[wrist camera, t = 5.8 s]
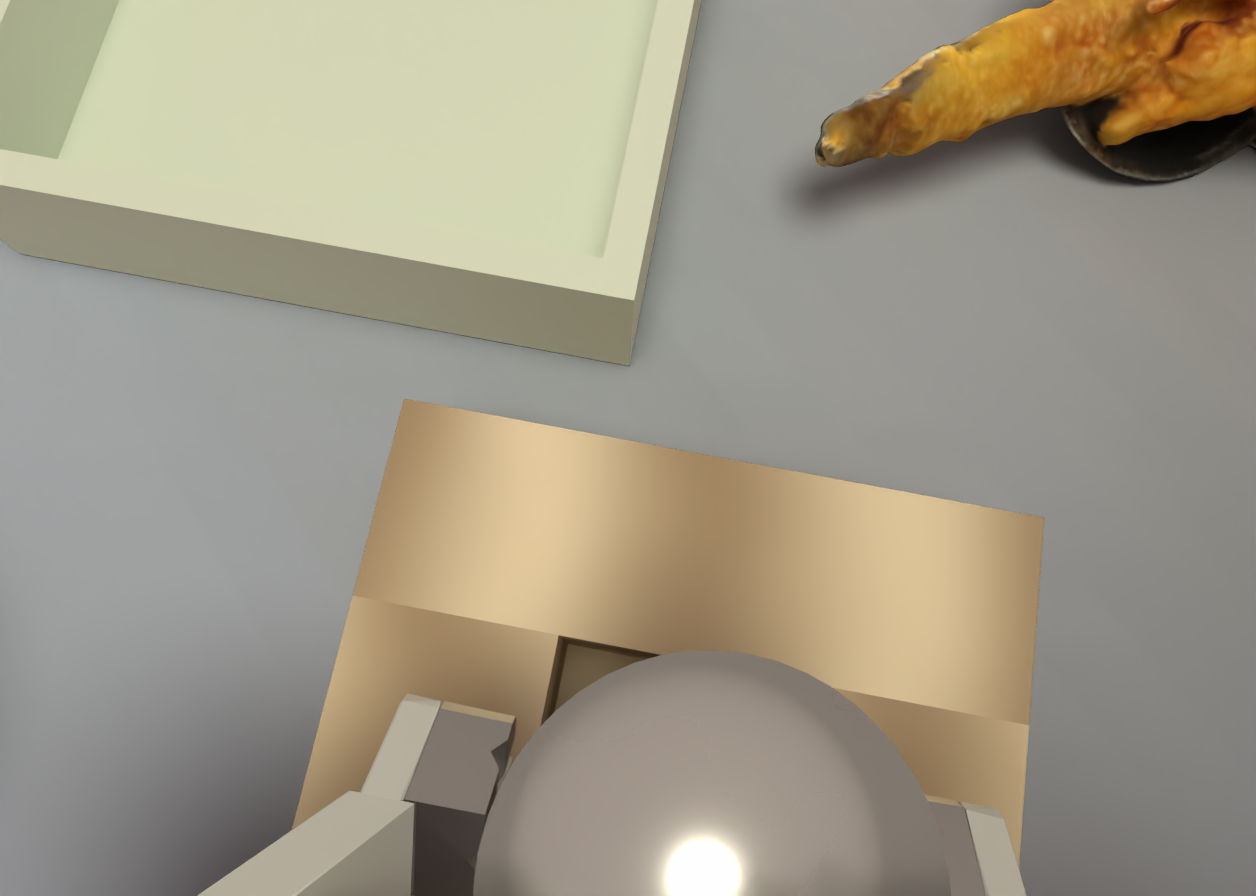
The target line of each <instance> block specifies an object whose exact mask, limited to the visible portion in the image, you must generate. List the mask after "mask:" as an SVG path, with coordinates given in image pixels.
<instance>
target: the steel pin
mask: <svg viewBox="0 0 1256 896" xmlns="http://www.w3.org/2000/svg"><path fill="white" fill-rule="evenodd" d="M473 896H951V888H950V877H949V871H948V866H947V861H946V857H945V852H944V847H943V843H942V839H941V836H940V833H939V830H938V827H937V824H936V821H935V818H934V816H933V813H932V810H931V808H930V805H929V803H928V801H927V799H926V797H925V795H924V793H923V791H922V789H921V787H920V784H919V782H918V780H917V779H916V777H915V775H914V774H913V772H912V771H911V769H910V768H909V766H908V764H907V763H906V761H905V760H904V758H903V756H902V755H901V753H900V752H899V751H898V749H897V748H896V747H895V746H894V745H893V743H892V742H891V741H890V740H889V738H888V737H887V736H886V735H885V733H884V732H883V731H882V730H881V729H880V727H879V726H877V725H876V724H875V723H874V722H873V721H872V720H871V719H870V718H869V717H868V716H867V715H866V714H865V713H864V712H863V711H862V710H861V709H860V708H859V707H858V706H856V705H855V704H854V703H852V702H851V701H850V700H848V699H847V698H846V697H844V696H843V695H842V694H840V693H839V692H838V691H836V690H835V689H834V688H832V687H831V686H829V685H827V684H825V683H823V682H822V681H820V680H818V679H816V678H815V677H813V676H811V675H809V674H808V673H806V672H803V671H801V670H798V669H796V668H793V667H791V666H788V665H786V664H784V663H781V662H779V661H775V660H771V659H767V658H763V657H760V656H756V655H752V654H747V653H738V652H730V651H722V650H700V651H685V652H678V653H671V654H664V655H660V656H656V657H653V658H649V659H646V660H642V661H639V662H635V663H632V664H630V665H628V666H626V667H623V668H621V669H619V670H617V671H614V672H612V673H610V674H607V675H605V676H604V677H602V678H600V679H599V680H597V681H596V682H594V683H592V684H591V685H589V686H587V687H586V688H584V689H582V690H581V691H579V692H578V693H577V694H576V695H574V696H573V697H572V698H571V699H569V700H568V701H567V702H566V703H565V704H563V705H562V706H561V707H560V708H558V709H557V710H556V711H555V712H554V713H553V714H552V715H551V716H550V717H549V718H548V719H547V720H546V721H545V722H544V723H543V725H542V726H541V727H540V728H539V729H538V730H537V731H536V732H535V733H534V734H533V736H532V737H531V738H530V740H529V741H528V742H527V744H526V745H525V746H524V748H523V749H522V751H521V752H520V753H519V755H518V756H517V757H516V759H515V761H514V762H513V764H512V766H511V768H510V769H509V771H508V773H507V775H506V777H505V778H504V780H503V782H502V784H501V785H500V788H499V790H498V792H497V795H496V797H495V800H494V802H493V805H492V807H491V810H490V812H489V814H488V817H487V820H486V824H485V828H484V831H483V835H482V839H481V842H480V846H479V850H478V857H477V863H476V870H475V877H474V887H473Z"/></svg>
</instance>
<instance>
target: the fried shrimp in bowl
mask: <svg viewBox="0 0 1256 896" xmlns="http://www.w3.org/2000/svg"><path fill="white" fill-rule="evenodd" d="M1051 107H1060V110H1061V112H1062V114H1063V118H1064V121H1065V124H1066V127H1067V128H1068V130H1069V131H1070V132H1071V134H1072V135H1073V136H1074V137H1075V139H1076V140H1077V141H1078V143H1079V144H1080V145H1081V146H1082V147H1083V148H1084V149H1085V150H1086V151H1087V152H1088V153H1089V154H1091V155H1092V156H1093V157H1094V158H1095V159H1096V160H1097V161H1099V162H1101V163H1102V164H1103V165H1104V166H1106V167H1107V168H1108V169H1110V170H1111V171H1113V172H1115V173H1117V174H1120V175H1122V176H1124V177H1127V178H1130V179H1134V180H1138V181H1143V182H1145V181H1151V182H1159V181H1170V180H1175V179H1181V178H1186V177H1191V176H1193V175H1195V174H1198V173H1200V172H1202V171H1205V170H1207V169H1208V168H1210V167H1211V166H1213V165H1215V164H1217V163H1218V162H1220V161H1222V160H1224V159H1226V158H1228V157H1230V156H1231V155H1233V154H1235V153H1236V152H1238V151H1239V150H1241V149H1242V148H1244V147H1246V146H1247V145H1249V144H1250V145H1251V146H1252V147H1254V148H1255V149H1256V0H1054V1H1052V2H1051V3H1049V4H1047V5H1045V6H1043V7H1041V8H1035V9H1024V10H1022V11H1020V12H1018V13H1015V14H1011V15H1009V16H1006V17H1004V18H1003V19H1001V20H999V21H997V22H994V23H992V24H990V25H989V26H987V27H984V28H982V29H980V30H979V31H977V32H976V33H974V34H972V35H970V36H969V37H967V38H965V39H963V40H961V41H959V42H956V43H953V44H951V45H942V46H940V47H938V48H936V49H934V50H933V51H931V52H930V53H928V54H926V55H924V56H922V57H921V58H920V59H919V60H917V61H916V62H915V63H914V64H912V65H911V66H909V67H908V68H906V69H905V70H904V71H903V72H901V73H900V74H899V75H897V76H896V77H895V78H894V79H892V80H891V81H889V82H888V83H887V84H885V85H884V86H883V87H882V88H881V89H879V90H878V91H875V92H870V93H868V94H866V95H865V96H863V97H862V98H860V99H858V100H857V101H855V102H854V103H853V104H851V105H850V106H849V107H845V108H842V109H840V110H838V111H836V112H834V113H832V114H831V115H829V116H828V117H827V118H826V119H825V121H824V122H823V123H822V125H821V135H820V138H819V140H818V142H817V144H816V146H815V156H816V161H817V163H818V164H819V165H820V166H823V167H825V166H829V165H831V166H836V167H840V166H845V165H849V164H852V163H855V162H858V161H860V160H862V159H865V158H875V159H880V158H883V157H884V156H886V155H887V154H888V153H891V154H893V155H897V156H901V155H905V156H909V155H913V154H915V153H918V152H920V151H922V150H924V149H925V148H927V147H929V146H931V145H933V144H935V143H936V142H939V141H944V140H946V141H954V142H962V141H965V140H966V139H968V138H969V137H970V136H971V135H972V134H973V133H974V132H976V131H978V130H980V129H982V128H984V127H986V126H989V125H992V124H995V123H997V122H1000V121H1003V120H1006V119H1009V118H1012V117H1015V116H1018V115H1023V114H1027V113H1033V112H1037V111H1039V110H1041V109H1044V108H1051Z"/></svg>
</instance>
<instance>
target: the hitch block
mask: <svg viewBox="0 0 1256 896" xmlns="http://www.w3.org/2000/svg"><path fill="white" fill-rule="evenodd" d="M1043 527H1044V518H1042V517H1037V516H1032V515H1026V514H1021V513H1016V512H1010V511H1005V510H999V509H994V508H989V507H983V506H978V505H973V504H967V503H962V502H956V501H951V500H946V499H940V498H935V497H930V496H924V495H919V494H913V493H908V492H903V491H897V490H892V489H887V488H881V487H876V486H870V485H865V484H860V483H854V482H849V481H844V480H838V479H833V478H828V477H822V476H817V475H811V474H806V473H801V472H795V471H790V470H785V469H779V468H774V467H768V466H763V465H758V464H752V463H747V462H742V461H736V460H731V459H725V458H720V457H715V456H709V455H704V454H699V453H693V452H688V451H683V450H677V449H672V448H666V447H661V446H656V445H650V444H645V443H640V442H634V441H629V440H623V439H618V438H613V437H607V436H602V435H597V434H591V433H586V432H580V431H575V430H570V429H564V428H559V427H554V426H548V425H543V424H538V423H532V422H527V421H521V420H516V419H511V418H505V417H500V416H495V415H489V414H484V413H478V412H473V411H468V410H462V409H457V408H452V407H446V406H441V405H435V404H430V403H425V402H419V401H414V400H409V399H404V401H403V404H402V408H401V412H400V416H399V420H398V424H397V428H396V431H395V435H394V439H393V443H392V447H391V451H390V454H389V458H388V462H387V466H386V470H385V474H384V477H383V481H382V485H381V489H380V493H379V497H378V500H377V504H376V508H375V512H374V516H373V520H372V523H371V527H370V531H369V535H368V539H367V543H366V546H365V550H364V554H363V558H362V562H361V566H360V569H359V573H358V577H357V581H356V585H355V589H354V593H353V596H352V600H351V604H350V608H349V612H348V616H347V619H346V623H345V627H344V631H343V635H342V639H341V642H340V646H339V650H338V654H337V658H336V662H335V665H334V669H333V673H332V677H331V681H330V685H329V688H328V692H327V696H326V700H325V704H324V708H323V711H322V715H321V719H320V723H319V727H318V731H317V734H316V738H315V742H314V746H313V750H312V754H311V758H310V761H309V765H308V769H307V773H306V777H305V781H304V784H303V788H302V792H301V796H300V800H299V804H298V807H297V811H296V815H295V819H294V823H293V827H292V830H293V829H294V828H296V827H297V826H298V825H300V824H301V823H303V822H304V821H306V820H307V819H309V818H310V817H311V816H313V815H314V814H316V813H317V812H319V811H320V810H322V809H323V808H324V807H326V806H327V805H329V804H330V803H332V802H333V801H335V800H336V799H337V798H339V797H340V796H342V795H343V794H345V793H346V792H348V791H349V790H350V791H356V792H360V791H361V789H362V787H363V785H364V782H365V780H366V778H367V776H368V774H369V771H370V769H371V767H372V765H373V762H374V760H375V758H376V756H377V754H378V751H379V749H380V747H381V745H382V742H383V740H384V738H385V736H386V733H387V731H388V729H389V727H390V725H391V722H392V720H393V718H394V716H395V713H396V711H397V709H398V707H399V705H400V702H401V701H402V700H403V699H404V698H405V696H406V695H407V694H413V695H417V696H422V697H427V698H432V699H436V700H441V701H447V702H452V703H456V704H461V705H465V706H470V707H474V708H479V709H483V710H488V711H492V712H497V713H502V714H506V715H511V716H515V717H516V718H517V721H516V732H515V738H514V741H513V745H512V749H511V752H510V756H511V757H512V764H513V762H514V761H515V759H516V757H517V756H518V755H519V753H520V752H521V751H522V749H523V748H524V746H525V745H526V744H527V742H528V741H529V740H530V738H531V737H532V736H533V734H534V733H535V732H536V731H537V730H538V729H539V728H540V727H541V726H542V725H543V723H544V722H545V721H546V720H547V719H548V718H549V717H550V716H551V715H552V714H553V713H554V712H555V711H556V710H557V709H558V708H560V707H561V706H562V705H563V704H565V703H566V702H567V701H568V700H569V699H571V698H572V697H573V696H574V695H576V694H577V693H578V692H579V691H581V690H582V689H584V688H586V687H587V686H589V685H591V684H592V683H594V682H596V681H597V680H599V679H600V678H602V677H604V676H605V675H607V674H610V673H612V672H614V671H617V670H619V669H621V668H623V667H626V666H628V665H630V664H632V663H635V662H639V661H642V660H646V659H649V658H653V657H656V656H660V655H664V654H671V653H678V652H685V651H700V650H722V651H730V652H738V653H747V654H752V655H756V656H760V657H763V658H767V659H771V660H775V661H779V662H781V663H784V664H786V665H788V666H791V667H793V668H796V669H798V670H801V671H803V672H806V673H808V674H809V675H811V676H813V677H815V678H816V679H818V680H820V681H822V682H823V683H825V684H827V685H829V686H831V687H832V688H834V689H835V690H836V691H838V692H839V693H840V694H842V695H843V696H844V697H846V698H847V699H848V700H850V701H851V702H852V703H854V704H855V705H856V706H858V707H859V708H860V709H861V710H862V711H863V712H864V713H865V714H866V715H867V716H868V717H869V718H870V719H871V720H872V721H873V722H874V723H875V724H876V725H877V726H879V727H880V729H881V730H882V731H883V732H884V733H885V735H886V736H887V737H888V738H889V740H890V741H891V742H892V743H893V745H894V746H895V747H896V748H897V749H898V751H899V752H900V753H901V755H902V756H903V758H904V760H905V761H906V763H907V764H908V766H909V768H910V769H911V771H912V772H913V774H914V775H915V777H916V779H917V780H918V782H919V784H920V787H921V789H922V791H923V793H924V795H930V796H935V797H941V798H946V799H952V800H956V801H957V802H965V803H970V804H975V805H981V806H986V807H991V808H996V809H998V810H999V811H1000V812H1001V814H1002V815H1003V816H1004V820H1005V823H1006V826H1007V830H1008V833H1009V837H1010V840H1011V843H1012V847H1013V850H1014V854H1015V857H1016V860H1017V864H1018V867H1019V859H1020V846H1021V832H1022V818H1023V804H1024V790H1025V776H1026V763H1027V749H1028V735H1029V721H1030V707H1031V693H1032V680H1033V666H1034V652H1035V638H1036V624H1037V610H1038V596H1039V583H1040V569H1041V555H1042V541H1043ZM511 766H512V765H511ZM411 896H412V895H411Z"/></svg>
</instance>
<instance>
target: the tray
mask: <svg viewBox="0 0 1256 896" xmlns="http://www.w3.org/2000/svg"><path fill="white" fill-rule="evenodd" d="M701 1H702V0H0V240H2V241H3V242H4V243H6V244H7V245H9V246H10V247H11V248H13V249H14V250H15V251H17V252H18V253H20V254H24V255H30V256H35V257H41V258H46V259H51V260H57V261H62V262H68V263H73V264H79V265H84V266H89V267H95V268H100V269H106V270H111V271H117V272H122V273H127V274H133V275H138V276H144V277H149V278H155V279H160V280H165V281H171V282H176V283H182V284H187V285H193V286H198V287H203V288H209V289H214V290H220V291H225V292H231V293H236V294H242V295H247V296H252V297H258V298H263V299H269V300H274V301H280V302H285V303H290V304H296V305H301V306H307V307H312V308H318V309H323V310H328V311H334V312H339V313H345V314H350V315H356V316H361V317H366V318H372V319H377V320H383V321H388V322H394V323H399V324H404V325H410V326H415V327H421V328H426V329H432V330H437V331H442V332H448V333H453V334H459V335H464V336H470V337H475V338H480V339H486V340H491V341H497V342H502V343H508V344H513V345H518V346H524V347H529V348H535V349H540V350H546V351H551V352H556V353H562V354H567V355H573V356H578V357H584V358H589V359H594V360H600V361H605V362H611V363H616V364H622V365H627V366H630V361H631V356H632V351H633V346H634V341H635V336H636V330H637V325H638V320H639V315H640V310H641V305H642V300H643V295H644V290H645V285H646V280H647V275H648V270H649V265H650V259H651V254H652V249H653V244H654V239H655V234H656V229H657V224H658V219H659V214H660V209H661V204H662V199H663V193H664V188H665V183H666V178H667V173H668V168H669V163H670V158H671V153H672V148H673V143H674V138H675V133H676V127H677V122H678V117H679V112H680V107H681V102H682V97H683V92H684V87H685V82H686V77H687V72H688V67H689V61H690V56H691V51H692V46H693V41H694V36H695V31H696V26H697V21H698V16H699V11H700V6H701Z"/></svg>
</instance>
